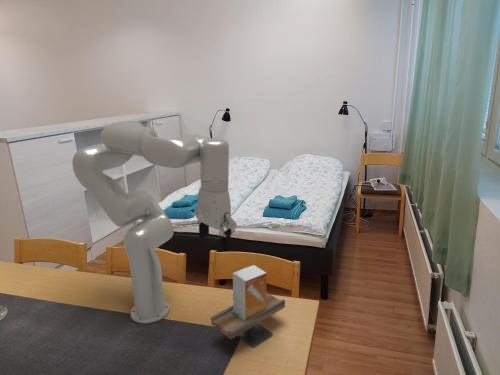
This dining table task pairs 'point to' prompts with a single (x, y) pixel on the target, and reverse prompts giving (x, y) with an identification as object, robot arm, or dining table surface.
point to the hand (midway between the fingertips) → (214, 242)
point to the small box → (249, 292)
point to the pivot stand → (255, 335)
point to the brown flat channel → (236, 325)
